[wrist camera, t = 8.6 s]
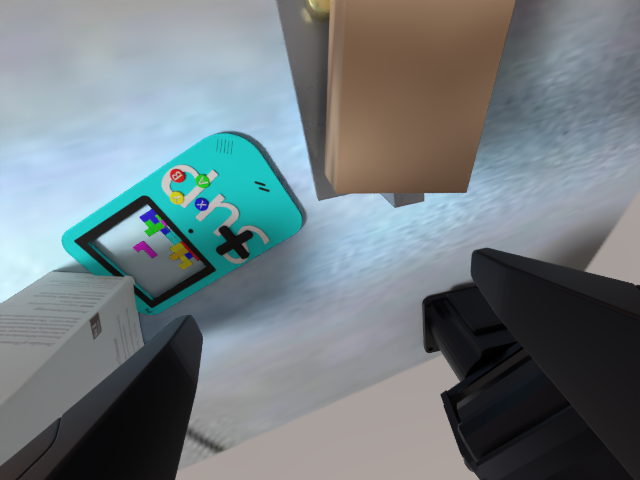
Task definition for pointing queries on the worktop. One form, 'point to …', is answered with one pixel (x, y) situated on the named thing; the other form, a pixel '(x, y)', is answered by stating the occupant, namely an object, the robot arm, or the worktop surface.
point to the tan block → (409, 91)
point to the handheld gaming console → (197, 215)
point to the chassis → (316, 85)
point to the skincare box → (60, 348)
